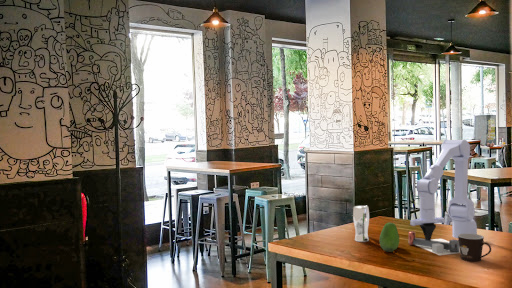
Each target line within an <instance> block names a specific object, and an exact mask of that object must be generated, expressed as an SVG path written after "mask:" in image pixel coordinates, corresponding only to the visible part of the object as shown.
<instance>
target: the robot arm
mask: <svg viewBox="0 0 512 288" xmlns="http://www.w3.org/2000/svg"><path fill="white" fill-rule="evenodd" d="M440 150H441V151H440V154H439V156H438V157H437V160H436V161H435V164H432V165H431V164H430V167H429V168H428V170H427V171H426V173H425V175H424V176H423V177H422V178H421V179H418V180H417V182H416V186H415V187H416V188H415V189H416V191H417V195H418V198H419V218H416V219H410V220H409V221H410V222H409V223H410V224H409V225H410V226H413V227H415V226H419V227H420V228H421V231H422V233H423V235H424V239H427V240H432V236H433V233H434V231H435V229H436V227H437V225H436V224H445V223H446V222H445V221H446V220H445V218H444V217H436V211H435V210H436V207H435V206H436V201H435V200H436V197H435V193H437V192H438V189H439V188H438V187H439V181H440V180H441V178H442V176H443V175H444V172H445V171H444V168H445V166H446V165H447V164H448V163H449V161H450V160H451V159H452V160H453V161H454V190H453V191H454V194H453V195H454V197H453V198H451V199H450V200H449V203H448V206H447V214H448V216H449V217H450V220H451V221H452V237H453V238H454V239H458V235H459V234H478V230H477V229H478V227H477V225H478V224H477V222H476V221H475V219H474V218H475V215H476V214H475V213H476V211H475V206H474V205H475V204H474V202H473V201H472V200H471V199H470V198H469V197H468V188H469V187H468V185H469V184H468V181H469V179H468V178H469V177H468V176H469V173H468V172H469V159H470V155H471V144H470V143H469V141H467V139H444V140H443V141H442V144H441V146H440Z"/></svg>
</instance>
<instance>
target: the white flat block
mask: <svg viewBox="0 0 512 288" xmlns="http://www.w3.org/2000/svg"><path fill="white" fill-rule="evenodd" d="M431 240H434V241H441V242H447V243H449V240H446V239H444V238H435V239H432V238H431ZM415 246H417V247H419V248H421V249H423V250H425V251H428V252H430V253H433V254H436V255H438V256H445V255H446V256H447V255H455V254H460V252H450V250H445V249H444V248H443V245H442V244H440V243H435V244H432V247H427V246H421V245H415Z"/></svg>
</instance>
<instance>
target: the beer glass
mask: <svg viewBox="0 0 512 288" xmlns="http://www.w3.org/2000/svg"><path fill="white" fill-rule="evenodd" d="M352 211H353V212H352V215H353V217H352V218H353V219H352V220H353V224H354V229H355V235H354V236H355V237H354V241H356V242H359V243H366V242H369V235H368V233H369V232H368V231H369V224H370V210H369V206H368V205H354V206H353V210H352Z"/></svg>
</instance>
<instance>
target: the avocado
mask: <svg viewBox="0 0 512 288" xmlns="http://www.w3.org/2000/svg"><path fill="white" fill-rule="evenodd" d="M378 242H379V246H380V247H381V250H383V251H385V252H387V253H393V252H396V251H395V250H397V249H398V247H399V245H400V235H399V230H398V229H397V225H396V224H395V223H393V222H386V223H385V224H384V225H383V227H382V229H381V232H380V234H379V241H378Z"/></svg>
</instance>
